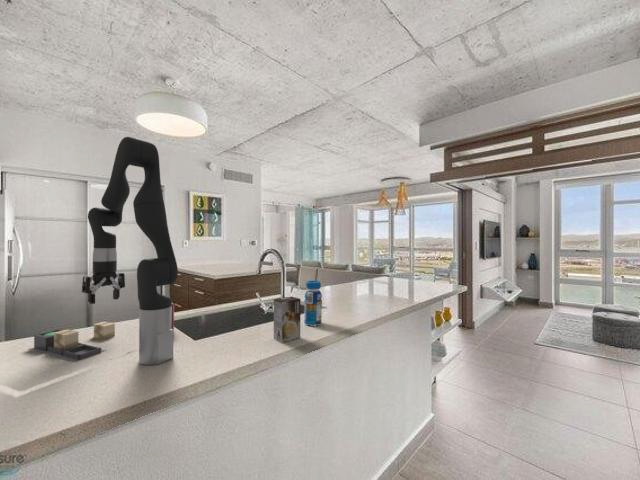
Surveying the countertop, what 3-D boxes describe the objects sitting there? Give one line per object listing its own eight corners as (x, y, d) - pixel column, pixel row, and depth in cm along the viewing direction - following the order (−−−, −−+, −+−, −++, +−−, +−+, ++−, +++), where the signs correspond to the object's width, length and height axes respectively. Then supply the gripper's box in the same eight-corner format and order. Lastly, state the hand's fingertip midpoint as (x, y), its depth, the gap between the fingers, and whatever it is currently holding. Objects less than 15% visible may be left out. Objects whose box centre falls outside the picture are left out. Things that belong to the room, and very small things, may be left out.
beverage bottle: (301, 322, 138) (301, 280, 138) (317, 320, 142) (318, 279, 141) (308, 327, 130) (308, 283, 130) (324, 325, 134) (325, 282, 134)
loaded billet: (78, 349, 100) (78, 331, 100) (64, 353, 96) (64, 335, 96) (67, 346, 102) (67, 329, 102) (53, 350, 98) (53, 332, 98)
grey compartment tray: (106, 353, 99) (106, 337, 99) (72, 365, 89) (72, 347, 89) (62, 342, 108) (62, 327, 108) (27, 352, 99) (27, 336, 99)
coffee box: (291, 333, 122) (292, 296, 122) (300, 338, 117) (301, 298, 117) (272, 338, 116) (273, 298, 116) (281, 343, 111) (282, 301, 111)
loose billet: (114, 338, 113) (114, 323, 113) (103, 342, 109) (103, 326, 109) (104, 336, 115) (104, 321, 115) (93, 339, 111) (93, 324, 111)
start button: (63, 341, 103) (63, 332, 103) (48, 345, 99) (48, 336, 99) (56, 339, 105) (56, 331, 105) (41, 343, 101) (41, 334, 101)
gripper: (90, 261, 104) (90, 306, 104) (129, 259, 117) (129, 298, 117) (77, 260, 106) (77, 304, 107) (117, 258, 120) (116, 297, 120)
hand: (104, 301), depth 112 cm, fingers open, 8 cm apart
